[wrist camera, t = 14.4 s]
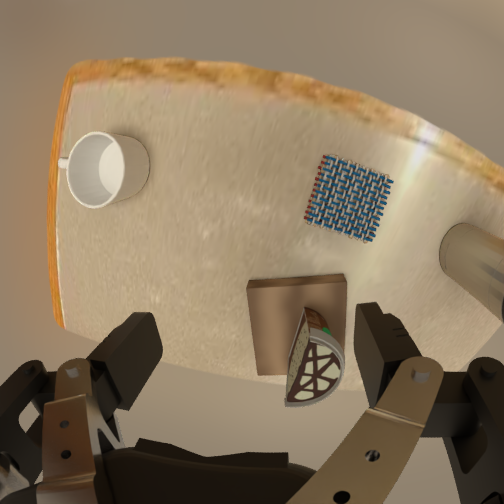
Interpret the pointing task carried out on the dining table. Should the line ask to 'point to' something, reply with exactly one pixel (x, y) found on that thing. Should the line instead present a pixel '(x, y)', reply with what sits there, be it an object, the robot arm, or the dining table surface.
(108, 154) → the mug
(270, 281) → the walnut base
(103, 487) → the robot arm
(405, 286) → the dining table surface
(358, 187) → the woven mat
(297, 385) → the food container
